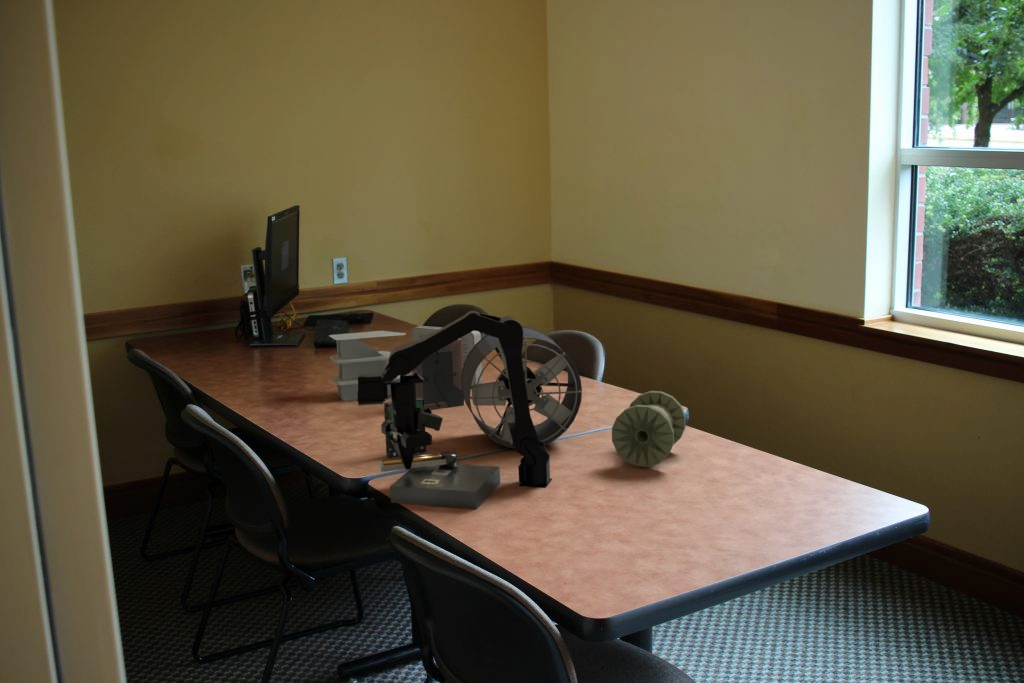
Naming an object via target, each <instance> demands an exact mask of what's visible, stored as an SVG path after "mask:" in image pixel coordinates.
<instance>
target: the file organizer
mask: <svg viewBox="0 0 1024 683" xmlns="http://www.w3.org/2000/svg"><path fill="white" fill-rule="evenodd" d="M406 335H407V333H406V332H396V331H388V330H375V331H361V332H352V333H350V332H349V333H337V334H330V335H328V337H330V338H331V339H333V340H335V341H336V352H337V354H336V355H330V356H329V359H330V360H331V361H333V362H334V363H335V364H337V366H338V367H337V368H338V375H335V376H330V379H331V381H332V382H334V383H335V384H336V385H337V386H336V387H337V397H339V398H340V399H341V400H342V402H347V401H356V400H357V401H358V396H357V392H358V376H359V375H382V372H383V369H385V368H386V366H387V365H388V361H389V356H390V353H391V351H386V350H379V351H378V350H376V349H375V348H373V347H371V346H370V345H368V344H367V343H365V342H364V341H362V340H361V339H368V338H369V339H371V338H383V337H396V336H406ZM397 379H400V375H399V376H398V377H396V378H395V379H394V380H397ZM387 386H388V397H391V388H390V385H387Z"/></svg>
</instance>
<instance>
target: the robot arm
mask: <svg viewBox="0 0 1024 683" xmlns="http://www.w3.org/2000/svg"><path fill="white" fill-rule="evenodd" d="M472 331H478V332H480V334H481V333H482V334H484V335H490V336H493V337H496V338H498V339H499V342H500V345H501V346H500V347H501V348H502V351H503V353H504V356H505V361H506V367H507V374H508V380H509V387H510V393H511V400H512V405H511V407H513V413H514V417H513V423H507V424H508V427H509V430H510V437H509V439H510V442H511V445H512V447H513V446H515V451H516V452H517V454H519V455H520V456H522V458H521V459H520V460H519V461H520V462H519V463H520V464H519V465H518V483H519V484H518V486H519V487H525V488H541V489H542V488H543V489H546V488H547V487H548V486H549V485H550V483H551V482H552V481H553V479H552V478H551V469H550V468H551V467H550V453H549V451H548V449H547V446H546V445H544V444H543V443H542V442H541V441H540V440H539V439H538V436H537V433H536V430H535V427H534V426H535V423H534V422H533V419H532V417H531V411H530V410H529V409H530V406H529V403H528V397H527V390H526V383H525V377H524V370H523V363H522V358H523V350H524V346H523V344H524V339H523V329H522V325H521V323H520V322H519V320H518V319H517V318H516V317H513V316H511V315H510V316H509V315H505V316H502V317H498V316H497V315H491V314H486V313H482V312H481V313H480V312H478V311H476V310H470V311H467V312H466V313H465V314H464V315H462V316H459V318H457V319H455V320H454V321H452V322H450V323H448V324H446V325H445V326H443V328H441V329H439V330H437V331H436V332H434V333H432V334H430V335H428V336H427V337H425V338H423V339H420V340H418V341H414V342H412V341H409V342H407V343H405V344H401V345H398V346H395V347H394V348H393V349H392V350H391V351H390V352H391V353H390V356H389V360H388V362H387V366H386V368H385V369H383V372H382V375H359V376H358V392H357V396H358V400H357V402H358V404H357V405H358V406H359V407H360V406H373V405H384V403H385V402H386V400H389V396H388V386H387V385H390V388H391V396H390V400H391V401H390V402H391V403H392V406H391V407H389V411H390V412H392V419H393V420H386V421H385V420H384V421H383V422H382V423H381V426H380V428H381V433H382V434H383V435H385V436H386V434H388V432H389V431H392V433H393V438H391V439H390V441H391V442H392V444H393V446H394V447H395V449H396V451H397V453H398V455H399V457H400V459H401V461H402V463H403V465H404V467H405V469H404V470H407V471H409V470H410V469H412V468H411V465H412V461H413V457H414V456H415V454H414V452H415V449H416V447H421V446H426V447H427V446H432V445H433V435H432V434H430V432H428V431H426V430H425V431H424V430H422V429H423V427H425V429H426V428H427V429H431V430H434V431H436V432H440V430H441V426H442V422H443V419H444V418H443V417H442V416H440V415H437V414H435V413H433V412H432V410H431V409H429V408H426V407H423V408H422V409H421V408H420V407H419V406H417V398H416V383H423V381H424V380H423V377H422V376H420V375H419V374H418V373H417V371H415V372H414V374H412V375H410V372H411V371H413V370H414V369H415V368H416V367H418V366H419V365H420V364H421V363H422V362H423V361H424V360H425V359H426V358H427V357H429V356H430V355H431V354H433V353H435V352H436V351H438V350H440V349H442V348H444V347H445V346H447V345H449V344H451V343H452V342H454V341H456V340H458V339H460V338H461V337H463V336H465V335H467V334H468V333H470V332H472ZM399 375H400V379H397V380H394V379H395V378H396V377H398V376H399ZM416 430H417V431H416ZM399 457H398V458H399Z"/></svg>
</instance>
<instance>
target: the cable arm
mask: <svg viewBox="0 0 1024 683" xmlns="http://www.w3.org/2000/svg"><path fill="white" fill-rule="evenodd" d="M458 464H459V463H458V453H457V452H456V451H450V450H449V451H448V450H447V451H441V452H437V453H427V454H419V455H418V454H416V455H414V457H413V461H412V465H411V469H412V468H418V467H427V466H435V465H439V467H442V468H452V467H456V466H457V465H458ZM378 468H379V470H380V472H389V471H398V470H399V471H400V470H406V469H405V467H404V465H403V463H402V461H401V459H400V457H396V458H382V459H381V461H378Z"/></svg>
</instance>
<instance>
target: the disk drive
mask: <svg viewBox="0 0 1024 683" xmlns="http://www.w3.org/2000/svg"><path fill="white" fill-rule="evenodd" d="M391 406H392V403H391V401H384V404H383V408H384V409H383V411H384V412H383V413H384V414H383V415H384V421H386V420H393V419H392V412H390V411H389V407H391ZM417 406H419V407H420V408H421V409H422V408H423V407H424V399H422V398H417ZM422 430H424V431H426V427H423V429H422ZM416 431H417V430H416ZM391 438H393V433H392V431H389V432H388V434H386V435H385V449H386V450H385V451H386V457H387V459H390V458H399V455H398V453H397V451H396V449H395V447H394V446H393V444H392V442H391V441H390V439H391ZM424 452H426V453H427V446H421V447H416V449H415V452H414V455H415V454H416V453H420V454H424ZM416 455H417V454H416Z"/></svg>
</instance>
